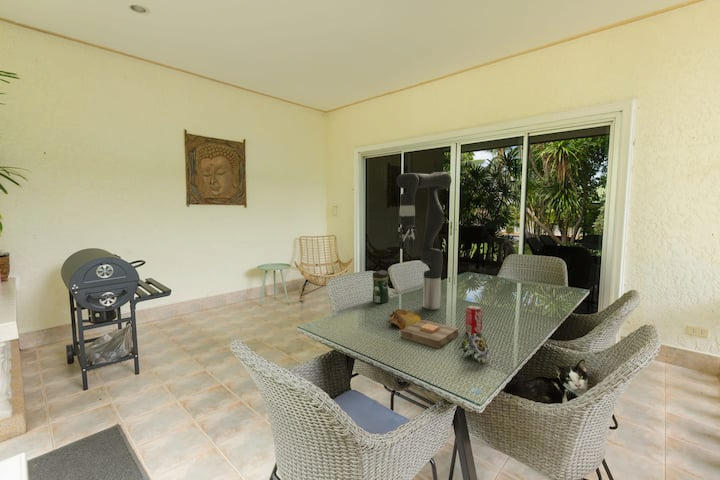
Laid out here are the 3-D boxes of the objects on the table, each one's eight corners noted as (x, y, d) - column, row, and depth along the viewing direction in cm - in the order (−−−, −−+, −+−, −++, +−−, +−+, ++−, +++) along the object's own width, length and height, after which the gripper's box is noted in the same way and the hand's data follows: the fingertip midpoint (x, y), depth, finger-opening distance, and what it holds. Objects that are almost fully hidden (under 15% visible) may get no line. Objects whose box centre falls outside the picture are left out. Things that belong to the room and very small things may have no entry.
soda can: (483, 331, 153) (484, 306, 152) (479, 337, 147) (480, 310, 146) (467, 329, 157) (467, 303, 156) (463, 334, 151) (464, 307, 150)
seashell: (424, 313, 167) (417, 317, 153) (422, 328, 167) (415, 334, 153) (393, 305, 174) (383, 308, 160) (390, 319, 174) (380, 324, 160)
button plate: (422, 325, 161) (422, 319, 161) (458, 335, 149) (458, 328, 149) (401, 337, 147) (401, 330, 147) (438, 348, 136) (438, 341, 135)
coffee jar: (380, 298, 208) (380, 268, 206) (390, 301, 203) (390, 270, 201) (370, 302, 201) (370, 271, 199) (380, 304, 196) (380, 272, 194)
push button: (427, 330, 152) (427, 323, 152) (439, 334, 149) (439, 326, 148) (420, 334, 148) (420, 327, 148) (432, 338, 144) (432, 330, 144)
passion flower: (481, 376, 124) (481, 359, 117) (453, 363, 130) (452, 346, 123) (492, 352, 130) (493, 334, 123) (465, 340, 136) (464, 322, 129)
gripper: (408, 214, 173) (408, 246, 174) (392, 215, 162) (392, 248, 164) (421, 214, 168) (421, 247, 170) (405, 215, 157) (405, 250, 159)
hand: (406, 248), depth 167 cm, fingers open, 8 cm apart
